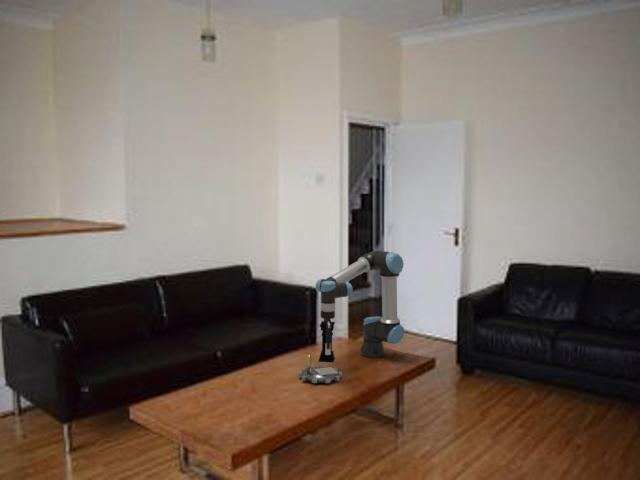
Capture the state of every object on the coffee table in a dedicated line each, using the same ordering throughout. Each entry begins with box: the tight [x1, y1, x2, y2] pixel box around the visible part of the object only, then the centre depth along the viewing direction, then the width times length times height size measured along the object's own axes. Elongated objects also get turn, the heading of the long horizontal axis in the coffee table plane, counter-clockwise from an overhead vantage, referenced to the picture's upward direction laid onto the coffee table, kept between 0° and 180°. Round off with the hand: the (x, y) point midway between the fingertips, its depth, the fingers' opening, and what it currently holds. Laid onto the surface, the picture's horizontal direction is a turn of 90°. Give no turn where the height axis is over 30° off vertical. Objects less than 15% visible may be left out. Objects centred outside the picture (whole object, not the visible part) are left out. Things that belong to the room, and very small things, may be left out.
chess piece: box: [318, 320, 336, 363], centre depth 308 cm, size 8×8×20 cm
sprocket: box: [298, 354, 343, 384], centre depth 309 cm, size 23×23×12 cm
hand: (327, 352), depth 308 cm, fingers closed on chess piece, 7 cm apart
